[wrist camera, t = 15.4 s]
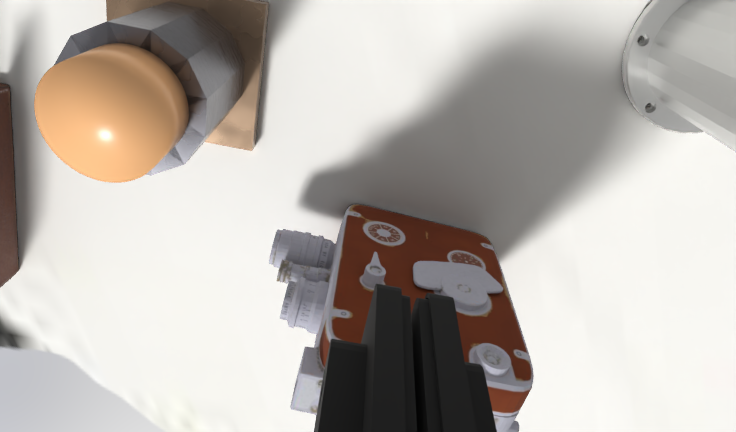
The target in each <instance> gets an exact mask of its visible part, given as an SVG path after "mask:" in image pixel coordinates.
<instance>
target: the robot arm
mask: <svg viewBox="0 0 736 432" xmlns="http://www.w3.org/2000/svg"><path fill="white" fill-rule="evenodd" d="M640 36H642V39H641V40H640V41H639V42H637V41H638V38H639V37H640ZM622 76H623V84H624V88H625V90H626V93H627V96H628V99H629V100H630V102H631V103H632V105H633V106H634V108H635V109H636V110H637V111H638V112H639V113H640V114H641V115H642V116H643V117H644V118H646V119H647V120H649V121H650V122H652V123H653V124H654V125H656V126H659V127H661V128H663V129H666V130H669V131H674V132H679V133H700V132H706V133H707V134H709V135H710V136H712V137H713V138H715V139H716V140H718V141H719V142H721V143H722V144H724V145H725V146H727V147H729V148H730V149H732V150H733V151H735V152H736V0H652V2H651V3H650V4H649V5H648V6H647V7H646V8H645V9H644V11H643V12H642V14H641V15H640V17H639V18H638V20H637V21H636V23H635V24H634V26H633V29H632V31H631V33H630V35H629V37H628V40H627V43H626V47H625V50H624V54H623V63H622ZM648 103H649V105H648V106H647V107H645V106H646V105H647V104H648ZM314 432H497V430H496V425H495V420H494V415H493V411H492V406H491V401H490V396H489V391H488V387H487V382H486V377H485V373H484V370H483V367H482V366H481V365H480V364H475V363H469V362H465V361H464V355H463V349H462V343H461V337H460V331H459V326H458V320H457V314H456V308H455V302H454V298H453V297H449V296H444V295H438V294H432V293H427V294H426V296H425V299H422V298H416V300H415V303H414V306H413V310H412V313H411V302H410V296H405V295H402V289H401V288H399V287H394V286H388V285H383V284H377V283H376V285H375V288H374V292H373V296H372V300H371V304H370V308H369V312H368V316H367V320H366V325H365V329H364V333H363V337H362V341H361V344H360V343H354V342H348V341H343V340H337V339H331V340H330V345H329V349H328V354H327V359H326V364H325V369H324V374H323V380H322V385H321V391H320V397H319V403H318V409H317V416H316V422H315V429H314Z"/></svg>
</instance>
